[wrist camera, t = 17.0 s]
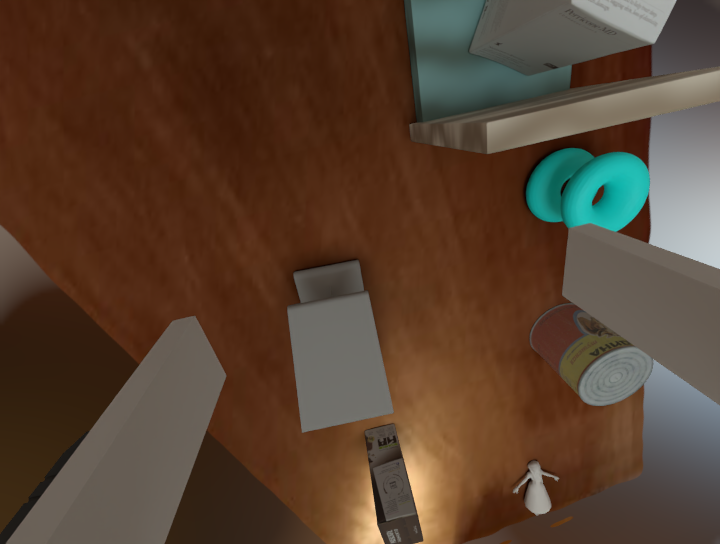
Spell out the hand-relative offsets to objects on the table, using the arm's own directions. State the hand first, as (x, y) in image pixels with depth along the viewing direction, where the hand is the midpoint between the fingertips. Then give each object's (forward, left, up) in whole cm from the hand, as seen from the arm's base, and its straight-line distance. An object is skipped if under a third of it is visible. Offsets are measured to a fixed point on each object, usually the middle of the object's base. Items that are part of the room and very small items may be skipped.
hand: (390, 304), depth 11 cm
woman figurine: (+81, +30, -33) cm, 92 cm away
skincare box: (-11, +22, -30) cm, 39 cm away
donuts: (+8, +30, -33) cm, 45 cm away
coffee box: (+53, -3, -33) cm, 62 cm away
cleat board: (-10, +20, -33) cm, 40 cm away
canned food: (+35, +33, -33) cm, 58 cm away
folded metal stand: (+21, -5, -33) cm, 39 cm away
